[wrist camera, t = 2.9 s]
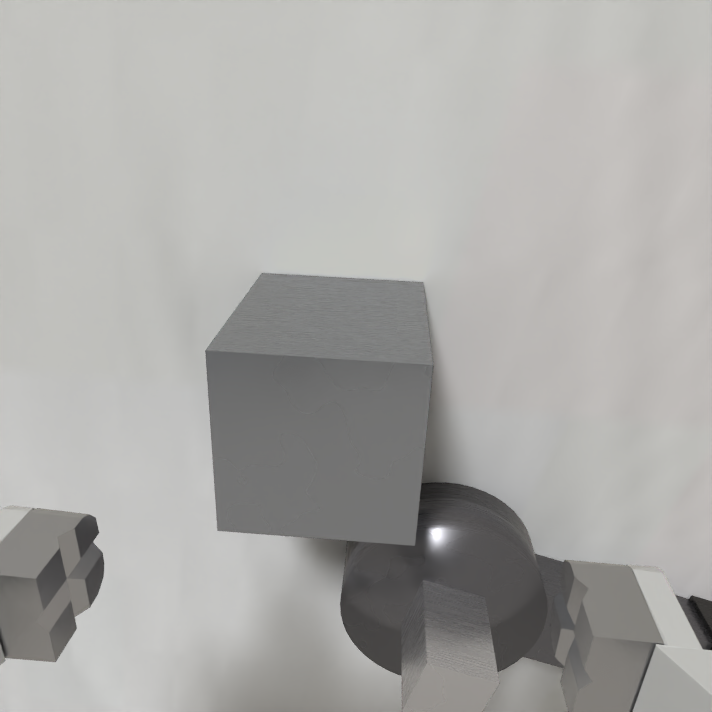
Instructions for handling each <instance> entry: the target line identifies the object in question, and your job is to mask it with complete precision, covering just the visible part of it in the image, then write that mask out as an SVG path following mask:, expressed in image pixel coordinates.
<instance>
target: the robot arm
mask: <svg viewBox="0 0 712 712" xmlns="http://www.w3.org/2000/svg"><path fill="white" fill-rule="evenodd" d="M98 533H99V531H98V526H97V522H96V518H95V517H93V516H91V515H89V514H82V513H73V512H65V511H57V510H48V509H40V508H37V509H34V508H27V507H19V506H8V507H5V508H3V509H1V510H0V665H1V664H2V663H3V662H5V658H12V659H24V660H36V661H49V662H56V661H57V659H58V658H59V656H60V654H61V653H62V651H63V650H64V648H65V646H66V645H67V643H68V642H69V640H70V638H71V637H72V635H73V634H74V632H75V631H76V629H77V628H76V622H75V616H77V615H79V614H80V613H82V612H83V611H85V610H87V609H88V608H90V606H91V605H92V603H93V601H94V600H95V598H96V596H97V595H98V592H99V589H100V586H101V583H102V579H103V574H104V560H103V553H102V552H101V551H100V549H99V548H98V547H97V546H96V545H95V544H94V543H93V541H94V539H95V538H96V536H97V535H98ZM558 578H559V582H560V585H561V589H562V591H561V592H560V593H559V594H558V595H556V596H555V597H554V598H553V603H552V608H551V618H550V633H551V641H552V647H553V651H554V656H555V657H556V659H557V660H558V661H559V662H560V663H561V664H562V665H563V666H564V670H563V674H562V678H561V685H562V689H563V693H564V697H565V701H566V705H567V710H568V712H712V650H704V649H702V647H701V645H700V643H699V641H698V639H697V637H696V635H695V633H694V631H693V629H692V627H691V625H690V623H689V621H688V619H687V617H686V615H685V613H684V611H683V609H682V607H681V605H680V604H679V602H678V600H677V598H676V596H675V594H674V592H673V590H672V588H671V586H670V584H669V582H668V580H667V578H666V576H665V574H664V572H663V571H662V570H661V569H659V568H658V567H651V566H638V565H626V566H625V565H619V564H608V563H597V562H585V561H574V560H565V561H564V562H563V564H562V566H561V569H560V573H559V577H558Z"/></svg>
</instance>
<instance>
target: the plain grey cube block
mask: <svg viewBox="0 0 712 712" xmlns="http://www.w3.org/2000/svg"><path fill="white" fill-rule="evenodd" d="M205 352H206V367H207V381H208V396H209V411H210V425H211V440H212V455H213V469H214V484H215V499H216V513H217V528H218V531H228V532H241V533H254V534H267V535H280V536H293V537H306V538H319V539H332V540H346V541H359V542H372V543H385V544H398V545H411V546H415V540H416V530H417V521H418V511H419V501H420V491H421V481H422V471H423V462H424V452H425V442H426V432H427V422H428V412H429V403H430V393H431V383H432V373H433V358H432V350H431V342H430V333H429V325H428V317H427V308H426V300H425V292H424V284H423V282H406V281H389V280H371V279H354V278H336V277H319V276H302V275H284V274H267V273H262V274H261V275H260V276H259V278H258V279H257V280H256V282H255V283H254V285H253V286H252V287H251V289H250V290H249V291H248V293H247V294H246V296H245V297H244V298H243V300H242V301H241V302H240V304H239V305H238V307H237V308H236V309H235V311H234V312H233V313H232V315H231V316H230V317H229V319H228V320H227V322H226V323H225V324H224V326H223V327H222V328H221V330H220V331H219V333H218V334H217V335H216V337H215V338H214V339H213V341H212V342H211V344H210V345H209V346H208V348H207V349H206V350H205Z"/></svg>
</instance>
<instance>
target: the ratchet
mask: <svg viewBox="0 0 712 712" xmlns="http://www.w3.org/2000/svg"><path fill="white" fill-rule="evenodd" d="M562 564H563V562H561V561H557V560H554V559H550V558H547V557H544V556H540V555H537V554H535V553H534V550H533V546H532V543H531V539H530V536H529V534H528V532H527V529H526V527H525V526H524V524H523V522H522V521H521V519H520V518H519V517H518V516H517V515H516V513H515V512H514V511H513V510H512V509H511V508H509V507H508V506H507V505H506V504H505V503H503V502H502V501H500V500H499V499H497V498H496V497H494V496H492V495H490V494H488V493H486V492H484V491H481V490H478V489H475V488H473V487H468V486H464V485H460V484H452V483H426V484H421V491H420V501H419V511H418V521H417V530H416V540H415V546H411V545H398V544H385V543H372V542H359V541H348V542H347V549H346V558H345V567H344V575H343V584H342V593H341V602H340V607H341V616H342V621H343V624H344V627H345V629H346V631H347V633H348V635H349V637H350V638H351V640H352V641H353V643H354V644H355V645H356V646H357V648H358V649H359V650H360V651H361V652H362V653H363V654H364V655H365V656H367V657H368V658H369V659H371V660H372V661H373V662H375V663H376V664H378V665H379V666H381V667H383V668H385V669H387V670H389V671H391V672H393V673H396V674H398V675H401V676H402V712H483V710H484V708H485V707H486V705H487V703H488V702H489V700H490V699H491V697H492V695H493V694H494V692H495V690H496V689H497V687H498V685H499V684H500V683H499V677H498V672H499V671H501V670H503V669H505V668H507V667H509V666H510V665H512V664H514V663H515V662H517V661H518V660H519V659H520V658H522V657H526V658H530V659H533V660H537V661H540V662H544V663H547V664H551V665H554V666H558V667H561V668H564V666H563V665H562V664H561V663H560V662H559V661H558V660H557V659H556V657H555V656H554V651H553V647H552V641H551V633H550V618H551V608H552V603H553V598H554V597H555V596H556V595H558V594H559V593H560V592H561V591H562V589H561V585H560V582H559V578H558V577H559V573H560V569H561V566H562ZM675 596H676V595H675ZM676 598H677V600H678V602H679V604H680V605H681V607H682V609H683V611H684V613H685V615H686V617H687V619H688V621H689V623H690V625H691V627H692V629H693V631H694V633H695V635H696V637H697V639H698V641H699V643H700V645H701V647H702V649H704V650H712V601H708V600H705V599H701V598H698V597H695V596H691V598H690V599H686V598H683V597H679V596H676Z"/></svg>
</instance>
